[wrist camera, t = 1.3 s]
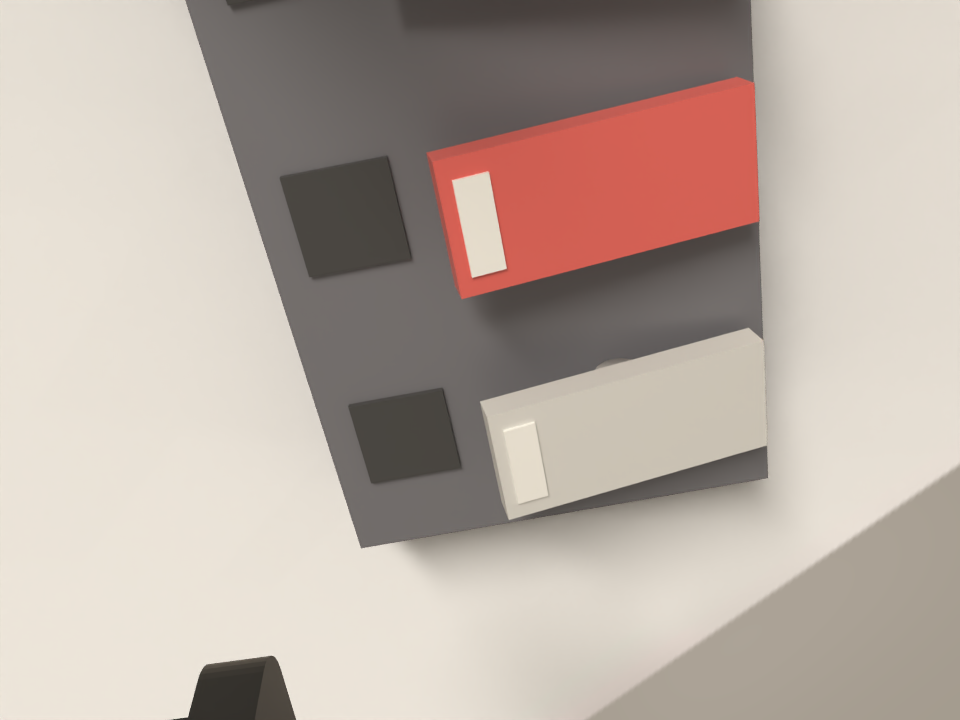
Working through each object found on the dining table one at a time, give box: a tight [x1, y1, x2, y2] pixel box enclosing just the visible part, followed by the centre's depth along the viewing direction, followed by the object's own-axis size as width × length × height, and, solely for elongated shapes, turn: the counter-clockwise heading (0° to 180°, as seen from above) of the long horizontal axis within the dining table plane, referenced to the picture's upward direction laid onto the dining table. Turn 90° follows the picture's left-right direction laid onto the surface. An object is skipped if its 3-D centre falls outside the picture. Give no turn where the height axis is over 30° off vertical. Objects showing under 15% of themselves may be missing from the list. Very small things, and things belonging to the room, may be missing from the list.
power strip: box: [186, 0, 768, 548], centre depth 29 cm, size 15×25×4 cm, turn 11°
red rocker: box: [426, 77, 759, 299], centre depth 26 cm, size 9×4×2 cm, turn 101°
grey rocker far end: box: [480, 328, 767, 520], centre depth 29 cm, size 9×4×2 cm, turn 101°
